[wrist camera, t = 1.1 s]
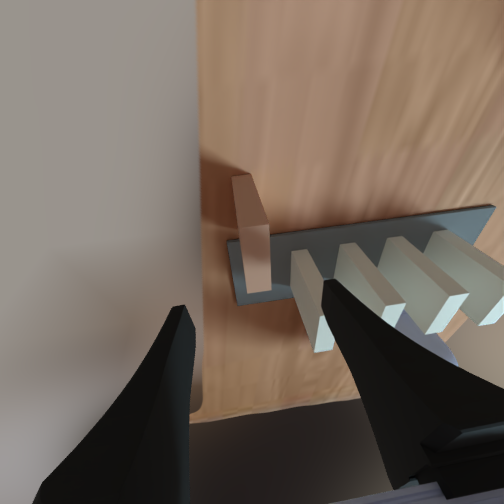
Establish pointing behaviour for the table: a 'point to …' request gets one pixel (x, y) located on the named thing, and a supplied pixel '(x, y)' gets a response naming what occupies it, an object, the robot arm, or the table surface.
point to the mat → (363, 234)
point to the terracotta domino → (252, 234)
